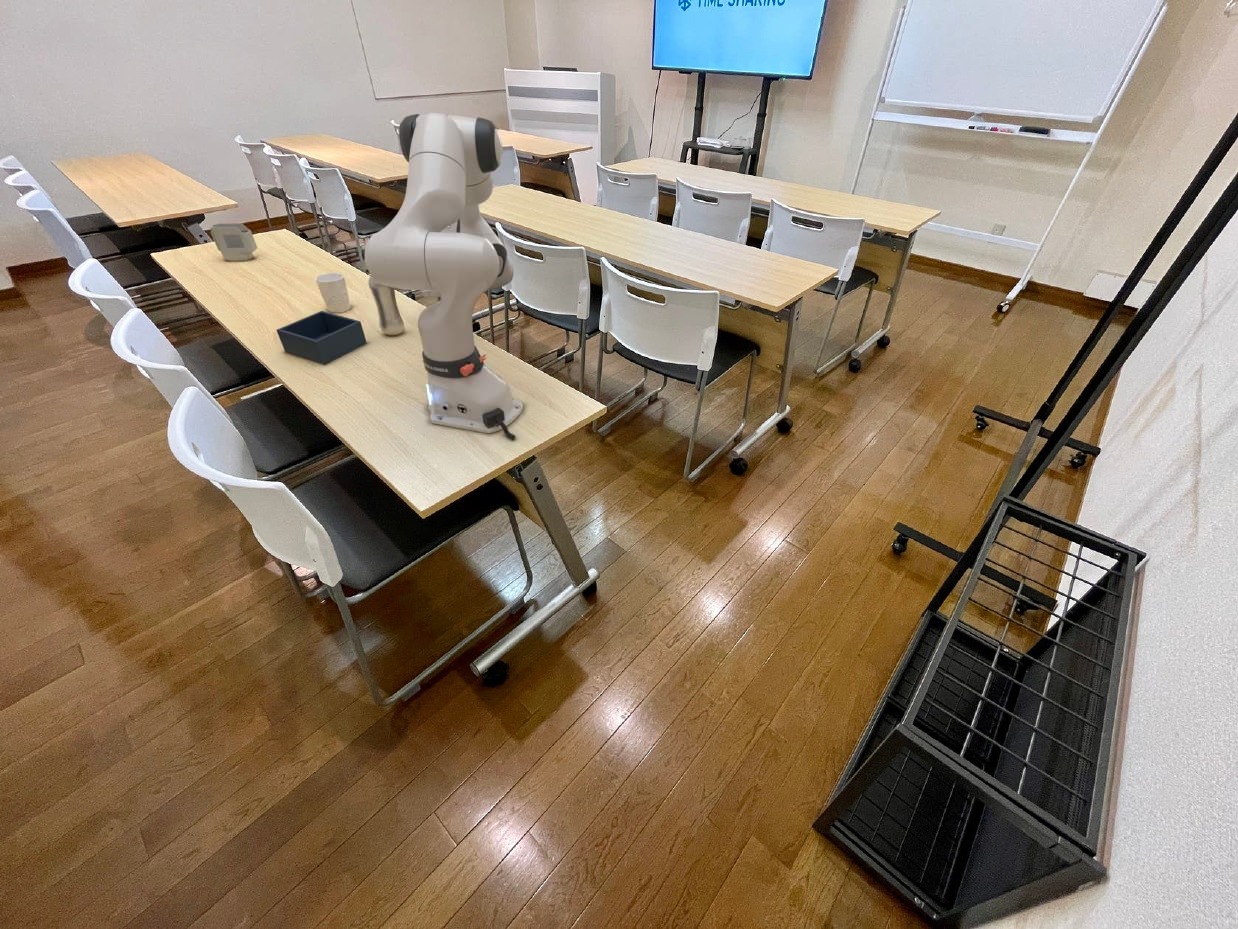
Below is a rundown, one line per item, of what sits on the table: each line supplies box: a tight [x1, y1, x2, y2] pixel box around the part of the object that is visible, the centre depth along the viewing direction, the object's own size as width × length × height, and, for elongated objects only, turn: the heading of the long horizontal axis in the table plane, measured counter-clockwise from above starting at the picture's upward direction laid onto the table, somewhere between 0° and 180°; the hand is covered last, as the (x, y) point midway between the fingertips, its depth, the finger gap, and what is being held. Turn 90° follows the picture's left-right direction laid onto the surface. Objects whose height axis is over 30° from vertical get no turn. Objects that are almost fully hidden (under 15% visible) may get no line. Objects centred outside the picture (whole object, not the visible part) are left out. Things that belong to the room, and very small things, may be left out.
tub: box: [275, 310, 368, 366], centre depth 141 cm, size 15×15×7 cm
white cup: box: [315, 272, 352, 314], centre depth 161 cm, size 8×8×10 cm
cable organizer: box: [209, 222, 258, 262], centre depth 192 cm, size 7×12×12 cm, turn 102°
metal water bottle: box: [367, 275, 405, 336], centre depth 146 cm, size 6×7×20 cm
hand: (416, 288), depth 150 cm, fingers open, 8 cm apart
